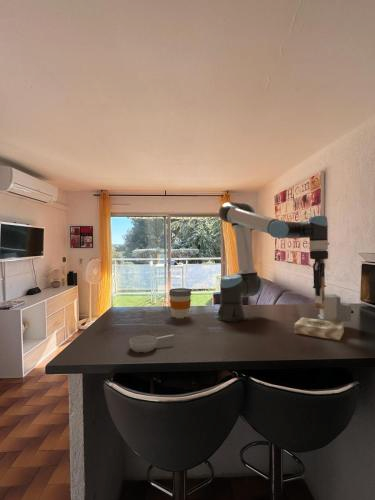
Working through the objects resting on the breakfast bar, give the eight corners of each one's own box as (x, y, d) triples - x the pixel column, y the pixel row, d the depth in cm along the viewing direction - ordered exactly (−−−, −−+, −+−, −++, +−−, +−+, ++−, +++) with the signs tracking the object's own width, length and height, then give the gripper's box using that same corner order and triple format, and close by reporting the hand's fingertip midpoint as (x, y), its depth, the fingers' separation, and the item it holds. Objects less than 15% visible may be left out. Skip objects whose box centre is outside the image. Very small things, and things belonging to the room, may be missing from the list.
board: (294, 332, 126) (294, 323, 126) (302, 325, 137) (302, 317, 137) (339, 340, 115) (339, 330, 115) (343, 331, 127) (343, 322, 126)
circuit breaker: (354, 329, 129) (354, 297, 129) (321, 328, 132) (321, 296, 132) (349, 325, 136) (349, 294, 136) (317, 324, 139) (317, 294, 139)
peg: (313, 308, 125) (313, 277, 125) (315, 306, 129) (315, 276, 129) (324, 309, 123) (323, 277, 123) (325, 307, 126) (325, 276, 126)
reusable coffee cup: (195, 315, 160) (195, 289, 160) (183, 320, 150) (183, 292, 149) (177, 312, 167) (177, 287, 167) (164, 317, 156) (164, 290, 156)
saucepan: (127, 346, 112) (126, 336, 112) (169, 339, 119) (169, 330, 119) (132, 356, 102) (132, 345, 102) (178, 348, 109) (178, 338, 109)
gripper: (324, 250, 117) (325, 306, 117) (331, 249, 130) (332, 299, 130) (305, 250, 121) (306, 304, 121) (314, 250, 135) (314, 298, 135)
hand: (319, 302), depth 126 cm, fingers closed on peg, 4 cm apart
